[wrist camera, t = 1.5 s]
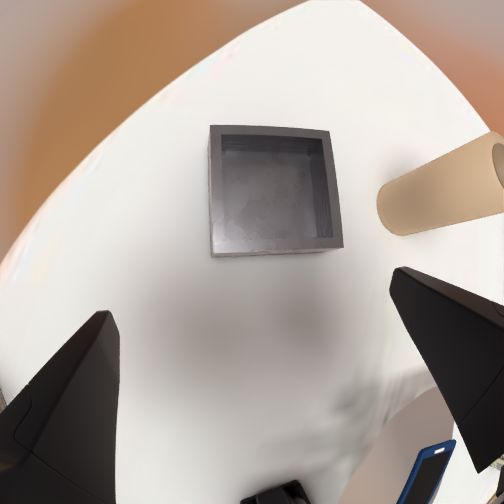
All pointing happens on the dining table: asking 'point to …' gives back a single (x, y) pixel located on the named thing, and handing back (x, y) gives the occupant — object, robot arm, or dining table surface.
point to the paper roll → (447, 189)
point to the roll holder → (272, 191)
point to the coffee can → (498, 463)
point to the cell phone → (426, 473)
